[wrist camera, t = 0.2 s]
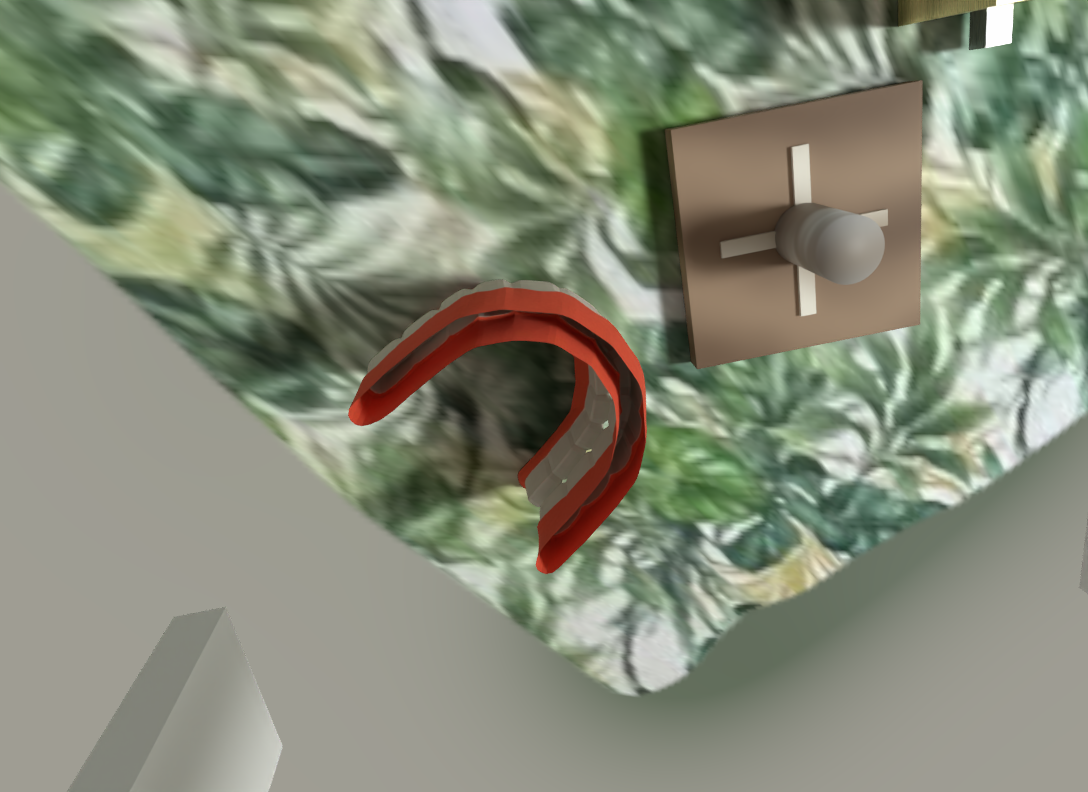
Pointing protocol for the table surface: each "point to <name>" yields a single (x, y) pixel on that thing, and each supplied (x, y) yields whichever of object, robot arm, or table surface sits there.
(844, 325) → the flat board
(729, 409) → the table surface
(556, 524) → the toy
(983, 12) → the block with peg
